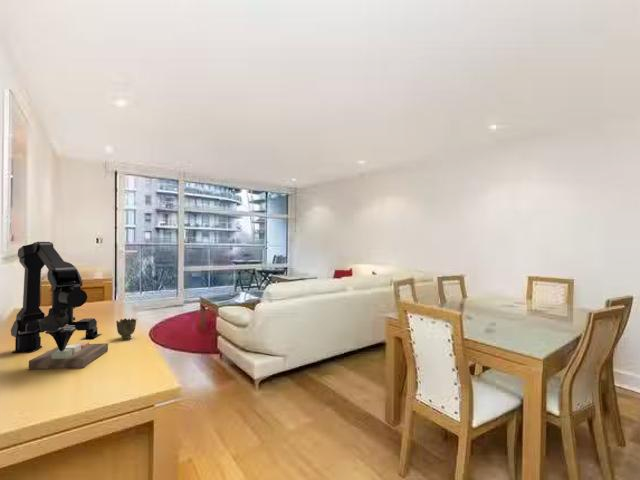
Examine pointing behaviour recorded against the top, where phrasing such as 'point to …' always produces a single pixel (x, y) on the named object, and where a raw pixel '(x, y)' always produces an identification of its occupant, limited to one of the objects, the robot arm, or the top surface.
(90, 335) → the black block on base
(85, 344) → the terracotta button
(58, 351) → the sage button
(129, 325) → the cup
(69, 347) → the ivory button
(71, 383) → the top surface
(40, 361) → the brown wooden tray
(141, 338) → the top surface
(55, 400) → the top surface
